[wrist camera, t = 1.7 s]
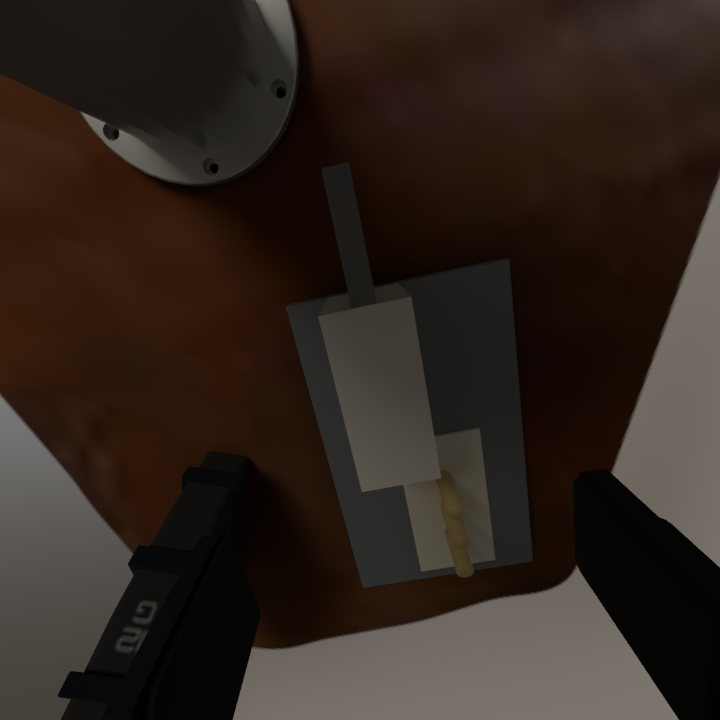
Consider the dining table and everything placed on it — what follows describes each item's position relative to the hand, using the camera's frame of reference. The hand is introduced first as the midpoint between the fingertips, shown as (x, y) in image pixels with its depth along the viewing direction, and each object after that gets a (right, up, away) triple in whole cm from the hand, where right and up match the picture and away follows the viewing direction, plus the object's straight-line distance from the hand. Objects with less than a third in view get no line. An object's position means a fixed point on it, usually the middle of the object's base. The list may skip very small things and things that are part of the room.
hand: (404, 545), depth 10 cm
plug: (-1, +7, +13) cm, 15 cm away
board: (+3, -1, +17) cm, 18 cm away
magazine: (-12, -8, +20) cm, 25 cm away
